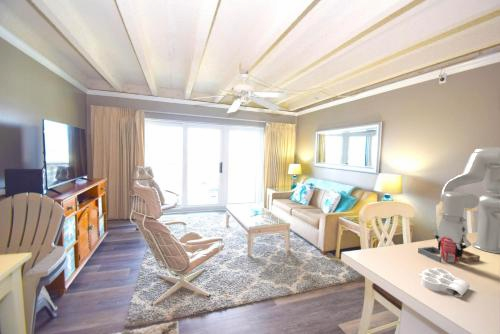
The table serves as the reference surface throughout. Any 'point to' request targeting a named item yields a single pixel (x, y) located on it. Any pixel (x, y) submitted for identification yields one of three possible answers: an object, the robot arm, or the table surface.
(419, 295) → the table surface
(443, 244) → the soda can
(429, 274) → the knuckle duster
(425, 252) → the frame
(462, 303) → the table surface
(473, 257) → the tray
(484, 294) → the table surface
